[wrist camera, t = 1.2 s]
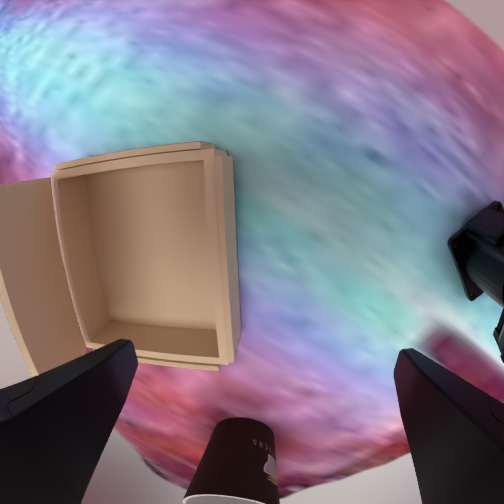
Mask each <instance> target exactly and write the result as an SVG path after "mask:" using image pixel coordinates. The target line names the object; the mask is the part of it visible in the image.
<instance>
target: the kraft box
mask: <svg viewBox="0 0 504 504" xmlns="http://www.w3.org/2000/svg"><path fill="white" fill-rule="evenodd" d="M62 169H63V170H62ZM56 170H59V171H54V172H51V176H52V188H53V198H54V206H55V214H56V222H57V228H58V234H59V240H60V246H61V251H62V257H63V261H64V266H65V271H66V275H67V280H68V284H69V288H70V292H71V296H72V300H73V303H74V307H75V310H76V314H77V317H78V321H79V324H80V327H81V330H82V334H83V337H84V340H85V343H86V346H87V347H89V348H94V349H93V351H94V350H96V349H98V348H100V347H103V346H105V345H107V344H109V343H112V342H114V341H116V340H118V339H128V340H131V341H132V342H133V344H134V347H135V351H136V355H137V359H138V362H141V363H148V364H156V365H163V366H171V367H180V368H190V369H201V370H213V371H219V369H220V365H229V362H231V363H234V362H235V358H236V354H237V350H238V345H239V341H240V337H241V317H240V299H239V280H238V261H237V240H236V218H235V195H234V170H233V156H227V151H225V150H219V149H216V148H215V145H214V144H210V143H206V142H201V141H198V142H187V143H178V144H169V145H161V146H153V147H146V148H139V149H132V150H126V151H120V152H114V153H108V154H103V155H97V156H92V157H87V158H82V159H78V160H73V161H69V162H64V163H60V164H56Z"/></svg>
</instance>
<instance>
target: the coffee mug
mask: <svg viewBox="0 0 504 504" xmlns="http://www.w3.org/2000/svg"><path fill="white" fill-rule="evenodd" d="M182 504H280V502H279V490H278V479H277V468H276V457H275V446H274V436H273V432H272V430H271V429H270V428H269V427H268V426H267V425H265V424H263V423H261V422H259V421H256V420H253V419H249V418H229V419H226V420H223V421H221V422H220V423H218V424H217V426H216V427H215V429H214V431H213V434H212V436H211V438H210V441H209V443H208V445H207V448H206V450H205V452H204V454H203V457H202V459H201V461H200V463H199V466H198V468H197V470H196V472H195V474H194V477H193V479H192V481H191V483H190V485H189V488H188V490H187V492H186V494H185V496H184V498H183V501H182Z"/></svg>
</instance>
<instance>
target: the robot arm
mask: <svg viewBox="0 0 504 504" xmlns="http://www.w3.org/2000/svg"><path fill="white" fill-rule="evenodd" d="M497 205H498V208H497ZM454 242H456V243H455V245H454V246H453V243H454ZM448 246H449V249H450V251H451V254H452V256H453V259H454V261H455V264H456V267H457V270H458V272H459V275H460V278H461V281H462V284H463V287H464V290H465V293H466V296H467V298H468V299H469V300H470V301H473V300H475V299H476V298H477V297H478V296H480V295H481V294H482V293H483V292H485V293H486V294H487V295H488V296H490V297H491V298H492V299H493V300H494V301H496V302H497V303H498V304H499V305H500V306H501V307H503V310H502V313H501V316H500V319H499V322H498V325H497V327H496V328H495V330H494V333H493V336H494V338H495V340H496V342H497V345H498V347H499V349H500V352H501V356H500V357H501V360H502V361H503V363H504V209H503V206H502V204H501V202H499V201H494V202H493V203H492V204H491V205H490V206H489V207H487V208H484V209H483V210H482V211H481V212H480V213H479V214H477V215H476V216H475V217H474V218H473V219H472V220H470V221H469V222H468V223H467V224H466V226H465V227H464V228H463V229H462V230H460V231H459V232H458V233H457V234H455V235H454V236H453V237H452V238H451V239H450V240H449V242H448ZM472 294H473V295H472ZM471 295H472V296H471ZM137 366H138V359H137V355H136V351H135V347H134V344H133V342H132V341H131V340H128V339H118V340H116V341H114V342H112V343H109V344H107V345H105V346H103V347H100V348H98V349H96V350H94V351H91V352H89V353H87V354H85V355H82V356H80V357H78V358H76V359H73V360H71V361H69V362H67V363H64V364H62V365H60V366H57V367H55V368H53V369H51V370H48V371H46V372H44V373H41V374H39V375H38V376H37V375H36V376H34V377H32V378H29V379H27V380H25V381H22V382H19V383H17V384H14V385H11V386H8V387H6V388H3V389H0V504H81V502H82V501H81V500H82V499H83V497H84V494H85V492H86V489H87V487H88V485H89V482H90V480H91V477H92V475H93V473H94V470H95V468H96V466H97V463H98V461H99V459H100V456H101V454H102V452H103V450H104V447H105V445H106V443H107V441H108V438H109V436H110V434H111V432H112V429H113V427H114V425H115V423H116V421H117V419H118V417H119V414H120V412H121V410H122V408H123V406H124V404H125V401H126V398H127V396H128V393H129V390H130V387H131V384H132V381H133V378H134V375H135V372H136V369H137ZM394 380H395V385H396V391H397V396H398V402H399V408H400V413H401V418H402V422H403V425H404V429H405V432H406V436H407V440H408V443H409V447H410V451H411V455H412V459H413V463H414V467H415V472H416V476H417V481H418V485H419V490H420V495H421V500H422V504H504V404H503V403H502V402H500V401H498V400H497V399H495V398H493V397H492V396H489V395H488V394H487V393H485V392H483V391H482V390H480V389H479V388H477V387H475V386H474V385H472V384H470V383H469V382H467V381H466V380H464V379H462V378H461V377H459V376H457V375H456V374H454V373H452V372H451V371H449V370H448V369H446V368H444V367H443V366H441V365H439V364H438V363H436V362H434V361H433V360H431V359H430V358H428V357H426V356H425V355H423V354H421V353H420V352H418V351H416V350H415V349H413V348H409V349H402V350H401V351H400V352H399V355H398V358H397V362H396V365H395V368H394Z"/></svg>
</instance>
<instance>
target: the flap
mask: <svg viewBox="0 0 504 504" xmlns="http://www.w3.org/2000/svg"><path fill="white" fill-rule="evenodd" d="M0 299H1V302H2V305H3V308H4V311H5V314H6V317H7V320H8V322H9V325H10V327H11V330H12V333H13V335H14V338H15V340H16V343H17V345H18V348H19V350H20V353H21V355H22V357H23V359H24V362H25V364H26V366H27V368H28V370H29V372H30V374H31V376H32V377H34V376H36V375H37V376H38V375H39V374H41V373H44V372H46V371H48V370H51V369H53V368H55V367H57V366H60V365H62V364H64V363H67V362H69V361H71V360H73V359H76V358H78V357H80V356H82V355H85V354H86V349H87V348H86V345H85V343H84V340H83V337H82V334H81V330H80V327H79V324H78V321H77V317H76V314H75V311H74V307H73V303H72V300H71V296H70V292H69V288H68V284H67V280H66V276H65V271H64V266H63V262H62V257H61V252H60V246H59V241H58V235H57V229H56V222H55V215H54V207H53V198H52V189H51V178H43V179H35V180H28V181H21V182H15V183H8V184H2V185H0Z"/></svg>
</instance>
